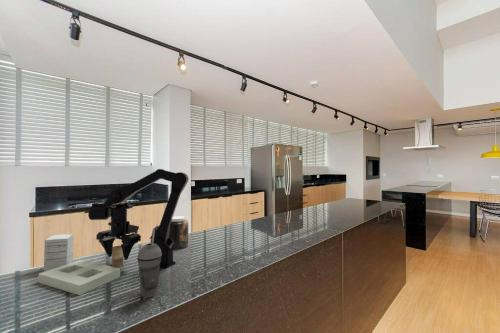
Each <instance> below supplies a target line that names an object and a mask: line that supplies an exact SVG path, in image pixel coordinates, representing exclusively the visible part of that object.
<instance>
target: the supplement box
mask: <svg viewBox="0 0 500 333" xmlns="http://www.w3.org/2000/svg"><path fill="white" fill-rule="evenodd" d="M74 237H75V236H74V233H66V234H65V233H64V234H54V235H51V236H49V237H48V238H46V239H45V240H44V250H43V251H44V252H43V253H44V254H43V255H44V256H43V257H44V258H43V260H44V261H43V272H45V271H49V270H52V269H55V268H58V267H61V266H64V265H67V264H70V263H73V262H74Z"/></svg>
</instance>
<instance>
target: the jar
mask: <svg viewBox="0 0 500 333" xmlns="http://www.w3.org/2000/svg"><path fill="white" fill-rule="evenodd" d="M169 238H171V239H172V240H173V241H174V244H173V246H172V247H171V248H172V249H173V251H175V250H182V249H184V248H185V247H186V248H187V247H188V246H189V221H188V220H186V216H182V215H181V216H180V215H178V216H177V215H176V216H175V215H173V218H172V221H171V224H170V233H169Z"/></svg>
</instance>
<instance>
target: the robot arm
mask: <svg viewBox="0 0 500 333" xmlns="http://www.w3.org/2000/svg"><path fill="white" fill-rule="evenodd" d="M160 180H164V181H167V182H171V183H170V185H171V186H170V194H169V197H168V200H167V203H166V205H165V209H164V212H163V215H162V217H161V220H160V223H159V225H156V226H154V228H152V233H151V236H150V237H149V239H150V243H152V236H153V230H155V234H154V241H153V243H154V244H156V245H158V246H159V248H160V249H161V253H162V257H161V262H160V268H161V269H166V268H168V267H170V266H172V265H174V264H176V261H175V260H174V250H173V249H172V248H171V247H172V246H173V244H174V241H173V240H172V239H171V238H169V233H170V224H171V221H172V218H173V216H175V212H176V208H177V206H178V204H179V199H180V196H181V195H182V192H183V191H184V190H185V188H186V186H187V184H188V182H189V176H188V174H186V173H185V172H182V171H181V172H172V171H169V170H165V169H163V168H158V169H156V170H155V171H153V172H151V173H149V174H147V175H146V176H143V177H142V178H140V179H138V180H136V181H135V182H132V183H130V184H128V185H123V186H121V187H118V188H115V189H113V190H111V191H110V192H109V195H108V196H109V197H108V198H107V199H106V200H105V201H104V202H93V203H91V206H90V208H89V210H88V219H89V220H90V221H104V220H105V221H107V220H108V219H109V218H110V222H107V226H109V227H110V229H106V230H103V231H102V230H101V231H99V232H98V233H97V234H96V235H95V236H96V239H95V240H97V241H98V243H100V244H101V246H102V248H103V250H104V251H105V254H106V255H107V256H108V258H110V257H111V258H112V247H114V243H115V240H121V244H120V246H121V247H122V251H123V260H124V261H127V260H129V257H130V254H131V251H132V250H133V247H134V246H135V245H136V244H139V242H141V241H142V240H141V239H142V235H141V234H140V233H138V231H139V229H140V226H139V225H134V224H131V223H130V221H129V220H128V209H132V208H133V207H134V206H133V205H132V204H130V202H129V201H128V200H130V199H131V198H132V197H133V196H134V195H135V194H137V192H139V191H141V190H143V189H145V188H146V187H149V186H150V185H152V184H155V183H156V182H158V181H160ZM126 201H128V202H126ZM123 203H124V204H123ZM160 268H159V269H160Z"/></svg>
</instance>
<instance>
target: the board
mask: <svg viewBox="0 0 500 333" xmlns="http://www.w3.org/2000/svg"><path fill="white" fill-rule="evenodd" d="M37 275H38V278H37V282H38V284H42V285H45V286H48V287H52V288H54V289H58V290H61V291H65V292H66V293H70V294H74V295H77V296H81V295H83V294H86V293H88V292H90V291H92V290H94V289H97V288H98V287H101V286H103V285H106V284H108V283H110V282H112V281H115V280H116V279H118V278H120V277H121V268H116V267H112V265H111V266H110V265H108V264H107V265H106V264H101V263H97V262H92V261H88V260H84V259H79V260H76V261H73V263H70V264H67V265H64V266H61V267H58V268H55V269H52V270H49V271H45V272H44V271H43V272H39V273H38V274H37Z"/></svg>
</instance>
